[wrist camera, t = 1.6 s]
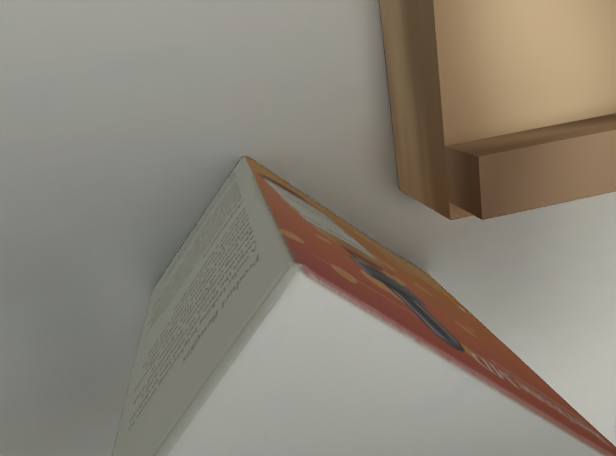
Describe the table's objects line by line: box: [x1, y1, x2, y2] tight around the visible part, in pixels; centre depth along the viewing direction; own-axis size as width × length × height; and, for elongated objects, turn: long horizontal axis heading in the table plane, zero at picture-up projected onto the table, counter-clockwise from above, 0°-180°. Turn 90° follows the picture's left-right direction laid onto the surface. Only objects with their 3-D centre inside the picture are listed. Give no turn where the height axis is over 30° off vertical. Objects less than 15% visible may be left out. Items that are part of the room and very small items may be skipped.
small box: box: [112, 157, 616, 456], centre depth 14 cm, size 8×6×10 cm
